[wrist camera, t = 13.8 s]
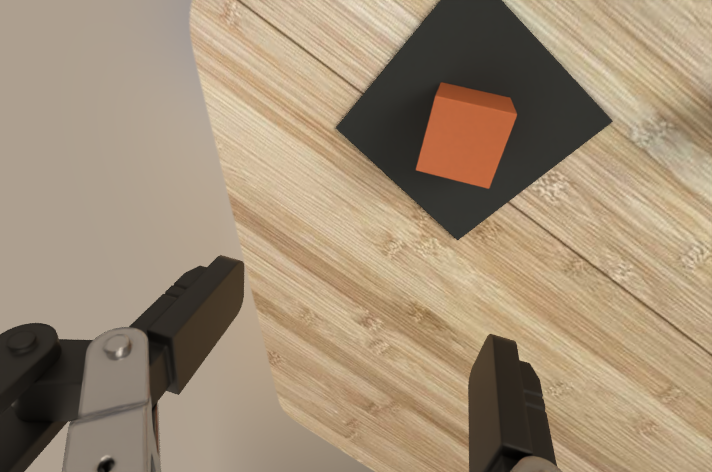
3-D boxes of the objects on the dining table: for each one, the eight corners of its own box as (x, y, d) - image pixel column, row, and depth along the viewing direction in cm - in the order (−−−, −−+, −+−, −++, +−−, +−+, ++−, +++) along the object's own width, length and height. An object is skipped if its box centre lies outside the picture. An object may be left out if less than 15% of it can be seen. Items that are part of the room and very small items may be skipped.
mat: (336, 126, 32) (335, 128, 32) (469, -35, 25) (469, -35, 25) (457, 238, 35) (457, 240, 34) (611, 120, 27) (613, 121, 27)
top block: (423, 148, 31) (415, 170, 27) (440, 82, 29) (435, 95, 24) (486, 163, 31) (489, 189, 26) (510, 97, 28) (517, 114, 24)
